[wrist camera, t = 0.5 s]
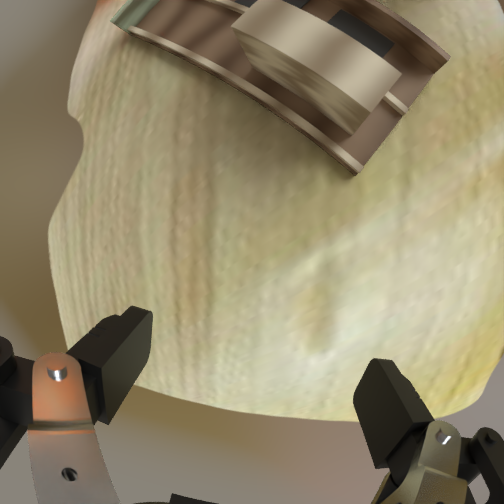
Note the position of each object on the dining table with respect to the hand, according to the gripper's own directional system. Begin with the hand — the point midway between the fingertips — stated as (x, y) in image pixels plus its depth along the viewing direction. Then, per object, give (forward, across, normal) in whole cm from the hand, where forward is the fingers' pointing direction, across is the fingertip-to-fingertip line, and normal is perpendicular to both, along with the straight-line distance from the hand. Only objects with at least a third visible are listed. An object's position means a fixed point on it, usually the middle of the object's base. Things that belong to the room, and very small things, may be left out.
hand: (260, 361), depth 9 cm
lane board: (+24, +5, -27) cm, 36 cm away
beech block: (+23, -2, -19) cm, 30 cm away
